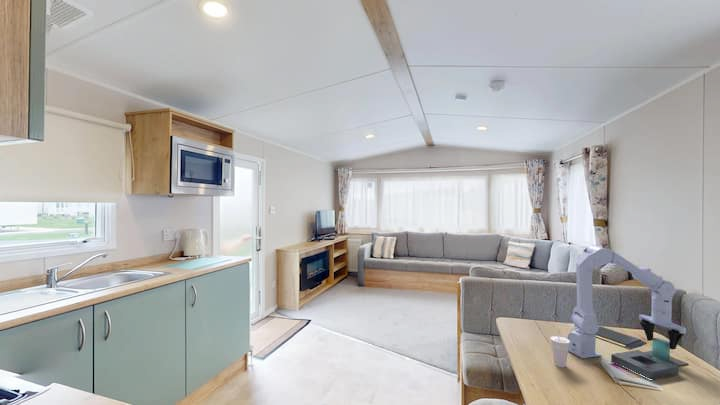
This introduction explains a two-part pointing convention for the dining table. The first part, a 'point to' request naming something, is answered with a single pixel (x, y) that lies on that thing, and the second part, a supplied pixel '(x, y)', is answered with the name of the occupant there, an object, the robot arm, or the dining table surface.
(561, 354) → the smoothie
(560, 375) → the dining table surface
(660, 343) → the end cap
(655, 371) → the housing
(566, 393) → the dining table surface
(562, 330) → the dining table surface
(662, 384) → the dining table surface
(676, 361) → the mat
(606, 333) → the grey book
